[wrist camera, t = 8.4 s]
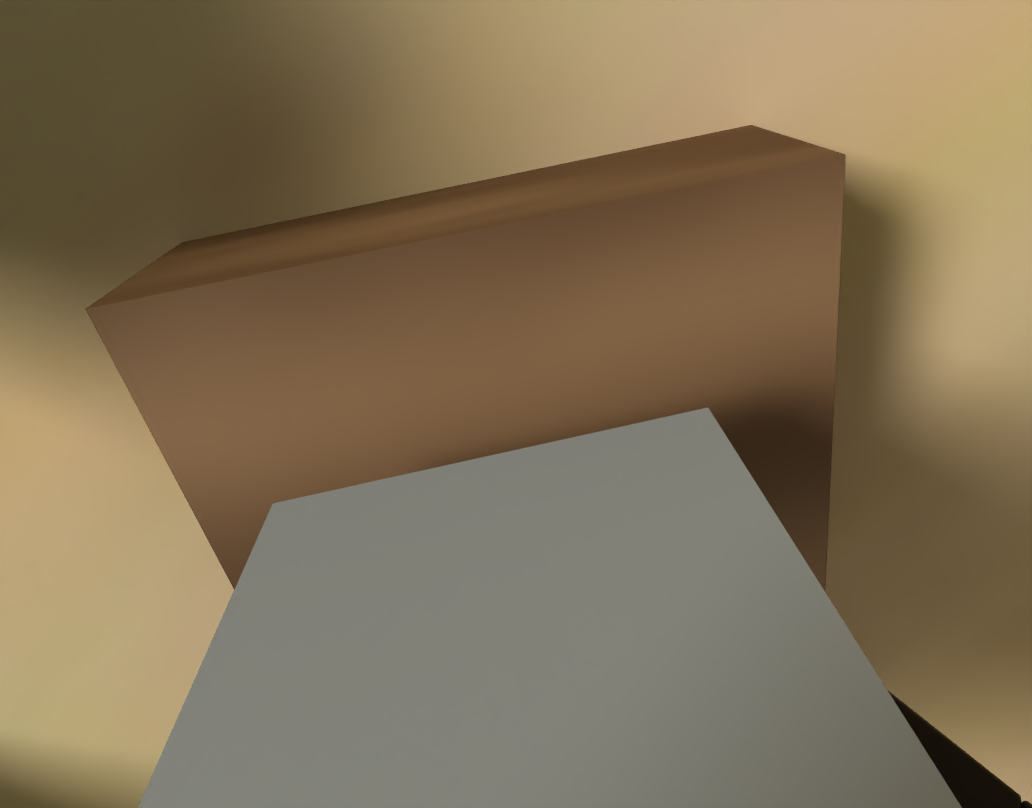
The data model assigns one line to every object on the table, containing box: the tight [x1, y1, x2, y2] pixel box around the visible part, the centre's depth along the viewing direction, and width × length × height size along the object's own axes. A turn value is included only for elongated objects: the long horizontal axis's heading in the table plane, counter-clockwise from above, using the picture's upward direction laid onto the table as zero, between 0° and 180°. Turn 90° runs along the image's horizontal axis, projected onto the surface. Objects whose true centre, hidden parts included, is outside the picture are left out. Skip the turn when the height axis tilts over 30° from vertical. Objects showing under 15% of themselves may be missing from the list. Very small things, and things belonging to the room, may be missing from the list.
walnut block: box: [86, 125, 845, 591], centre depth 14 cm, size 11×11×4 cm
